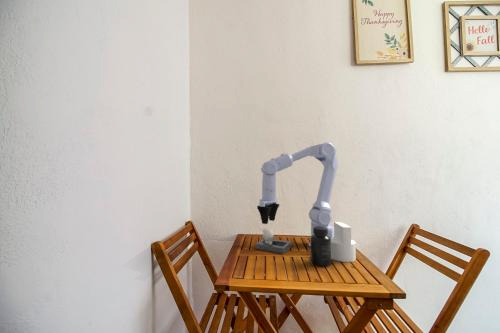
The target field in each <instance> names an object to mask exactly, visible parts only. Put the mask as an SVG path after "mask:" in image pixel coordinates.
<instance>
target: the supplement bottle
mask: <svg viewBox="0 0 500 333" xmlns="http://www.w3.org/2000/svg"><path fill="white" fill-rule="evenodd" d="M313 233H314V235H312V236H311V235H310V240H309V241H310V242H309V243H310V246H309V247H310V262H311V264H312V265H314V266H316V267H323V268H324V267H329V266H331V264H332V258H331V238H330V237H329V236H328V235H327V234H328V228H326V227H314V228H313Z"/></svg>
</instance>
